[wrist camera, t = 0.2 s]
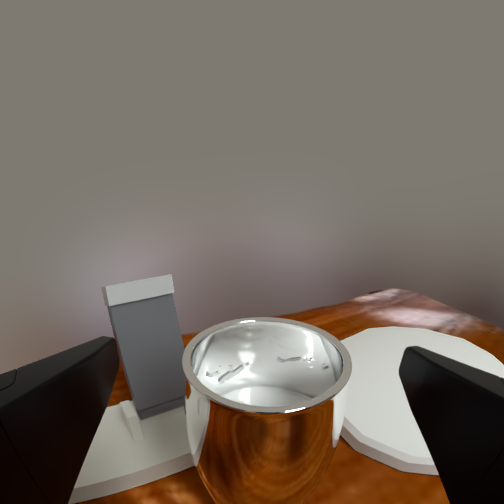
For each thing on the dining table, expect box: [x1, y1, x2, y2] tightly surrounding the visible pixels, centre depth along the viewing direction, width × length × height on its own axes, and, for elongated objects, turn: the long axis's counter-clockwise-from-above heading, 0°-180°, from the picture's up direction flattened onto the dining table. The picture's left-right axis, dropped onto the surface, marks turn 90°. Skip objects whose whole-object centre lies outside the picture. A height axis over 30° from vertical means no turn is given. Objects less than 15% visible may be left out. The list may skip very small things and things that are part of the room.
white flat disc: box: [340, 326, 504, 475], centre depth 28 cm, size 25×4×25 cm
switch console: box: [68, 400, 195, 504], centre depth 18 cm, size 8×24×5 cm, turn 127°
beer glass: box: [182, 317, 352, 504], centre depth 14 cm, size 7×7×15 cm
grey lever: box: [102, 274, 185, 420], centre depth 23 cm, size 2×5×11 cm, turn 127°
